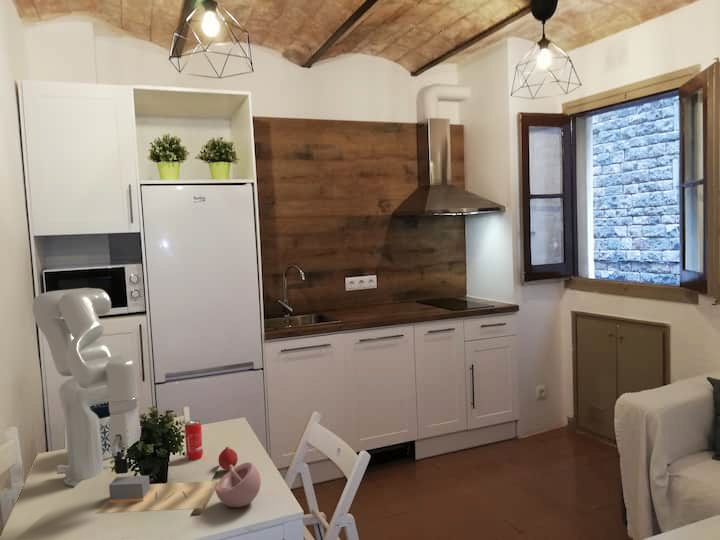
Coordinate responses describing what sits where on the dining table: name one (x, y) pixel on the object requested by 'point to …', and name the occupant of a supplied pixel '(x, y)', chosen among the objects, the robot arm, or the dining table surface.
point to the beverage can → (193, 439)
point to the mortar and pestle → (239, 485)
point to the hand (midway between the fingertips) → (129, 465)
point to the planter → (104, 429)
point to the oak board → (168, 498)
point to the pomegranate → (227, 458)
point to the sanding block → (129, 489)
